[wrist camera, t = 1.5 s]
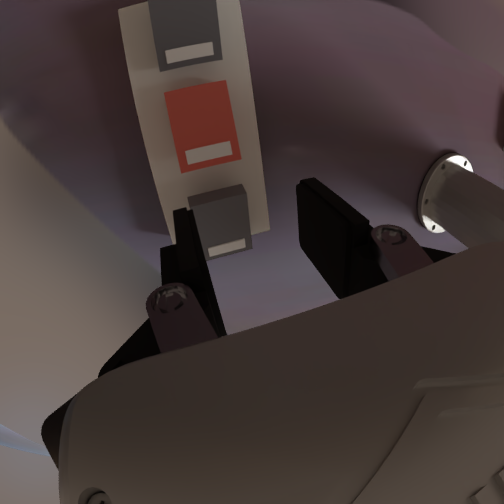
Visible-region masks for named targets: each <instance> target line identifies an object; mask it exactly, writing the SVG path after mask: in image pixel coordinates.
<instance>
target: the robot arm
mask: <svg viewBox="0 0 504 504" xmlns="http://www.w3.org/2000/svg"><path fill="white" fill-rule="evenodd" d="M296 195H297V210H298V227H299V242H300V246H301V248H302V250H303V251H304V253H305V254H306V255H307V257H308V258H309V259H310V261H311V262H312V263H313V265H314V266H315V267H316V269H317V270H318V271H319V273H320V274H321V275H322V277H323V278H324V279H325V281H326V282H327V283H328V285H329V286H330V288H331V289H332V290H333V292H334V293H335V294H336V296H337V297H338V298H339V299H340V300H337V301H334V302H332V303H329V304H326V305H323V306H320V307H317V308H314V309H311V310H308V311H305V312H302V313H299V314H296V315H293V316H290V317H286V318H283V319H280V320H277V321H274V322H270V323H267V324H264V325H261V326H257V327H254V328H251V329H247V330H244V331H241V332H237V333H234V334H230V335H227V334H226V330H225V327H224V323H223V320H222V317H221V313H220V310H219V306H218V303H217V299H216V295H215V292H214V288H213V285H212V281H211V277H210V274H209V270H208V266H207V263H206V259H205V255H204V251H203V248H202V244H201V240H200V236H199V232H198V228H197V224H196V220H195V216H194V212H193V209H191V210H187V207H184V208H180V209H177V210H173V220H174V229H175V238H176V244H173V245H170V246H166V247H162V248H160V257H161V277H162V286H161V287H159V288H157V289H155V290H154V291H153V292H152V293H151V294H150V295H149V297H148V298H147V301H146V310H147V313H148V316H149V318H148V319H147V320H146V321H145V322H144V324H142V326H141V327H140V328H139V329H138V330H137V331H136V332H135V333H134V334H133V335H132V336H131V337H130V338H129V339H128V340H127V341H126V342H125V343H124V344H123V345H122V346H121V347H120V349H119V350H118V351H117V352H116V353H115V354H114V355H113V356H112V357H111V358H110V359H109V360H108V361H107V362H106V363H105V364H104V366H103V367H102V368H101V370H100V372H99V375H98V378H97V379H95V380H94V381H92V382H91V383H89V384H88V385H87V386H85V387H84V388H83V389H82V390H81V391H79V392H78V393H77V394H76V395H75V396H73V397H72V398H71V399H70V400H68V401H67V402H66V403H64V404H63V405H62V406H61V407H60V408H58V409H57V410H56V411H54V413H52V414H51V415H49V416H48V417H47V418H46V420H45V421H44V423H43V425H42V429H41V435H42V439H43V442H44V444H45V446H46V448H47V450H48V452H49V454H50V456H51V458H52V459H53V461H54V463H55V465H56V467H57V468H58V470H59V498H60V504H504V190H503V189H501V188H500V187H498V186H496V185H494V184H493V183H491V182H489V181H487V180H486V179H484V178H482V177H480V176H478V175H477V174H475V173H473V169H472V166H471V164H470V162H469V161H468V159H467V158H465V157H464V156H462V155H460V154H457V153H449V154H446V155H444V156H442V157H441V158H440V159H438V160H437V161H436V162H435V163H434V164H433V166H432V167H431V168H430V170H429V171H428V173H427V175H426V177H425V179H424V181H423V183H422V186H421V189H420V193H419V198H418V216H419V219H420V222H421V223H422V225H423V226H424V227H425V228H426V229H427V230H429V231H430V232H433V233H441V232H443V231H447V232H448V233H450V234H451V235H452V236H454V237H455V238H456V239H457V240H459V241H460V242H461V243H463V244H464V245H465V246H466V247H468V248H469V249H467V250H464V251H462V252H459V253H457V254H456V253H450V252H445V251H440V250H436V249H431V248H426V247H422V246H420V245H419V244H418V243H417V242H416V240H415V239H414V238H413V237H412V236H411V235H410V233H409V232H408V231H406V230H405V229H403V228H401V227H399V226H396V225H389V224H387V225H380V226H377V227H375V228H373V227H372V226H370V225H369V220H368V219H367V218H365V217H364V216H363V215H362V214H360V213H359V212H358V211H357V210H356V209H354V208H353V207H352V206H351V205H349V204H348V203H347V202H346V201H344V200H343V199H342V198H341V197H339V196H338V195H337V194H335V193H334V192H333V191H332V190H330V189H329V188H328V187H326V186H325V185H324V184H322V183H321V182H320V181H318V180H317V179H316V178H314V177H313V178H308V179H304V180H301V181H300V184H297V185H296ZM225 335H227V336H225ZM222 336H223V337H222Z"/></svg>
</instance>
